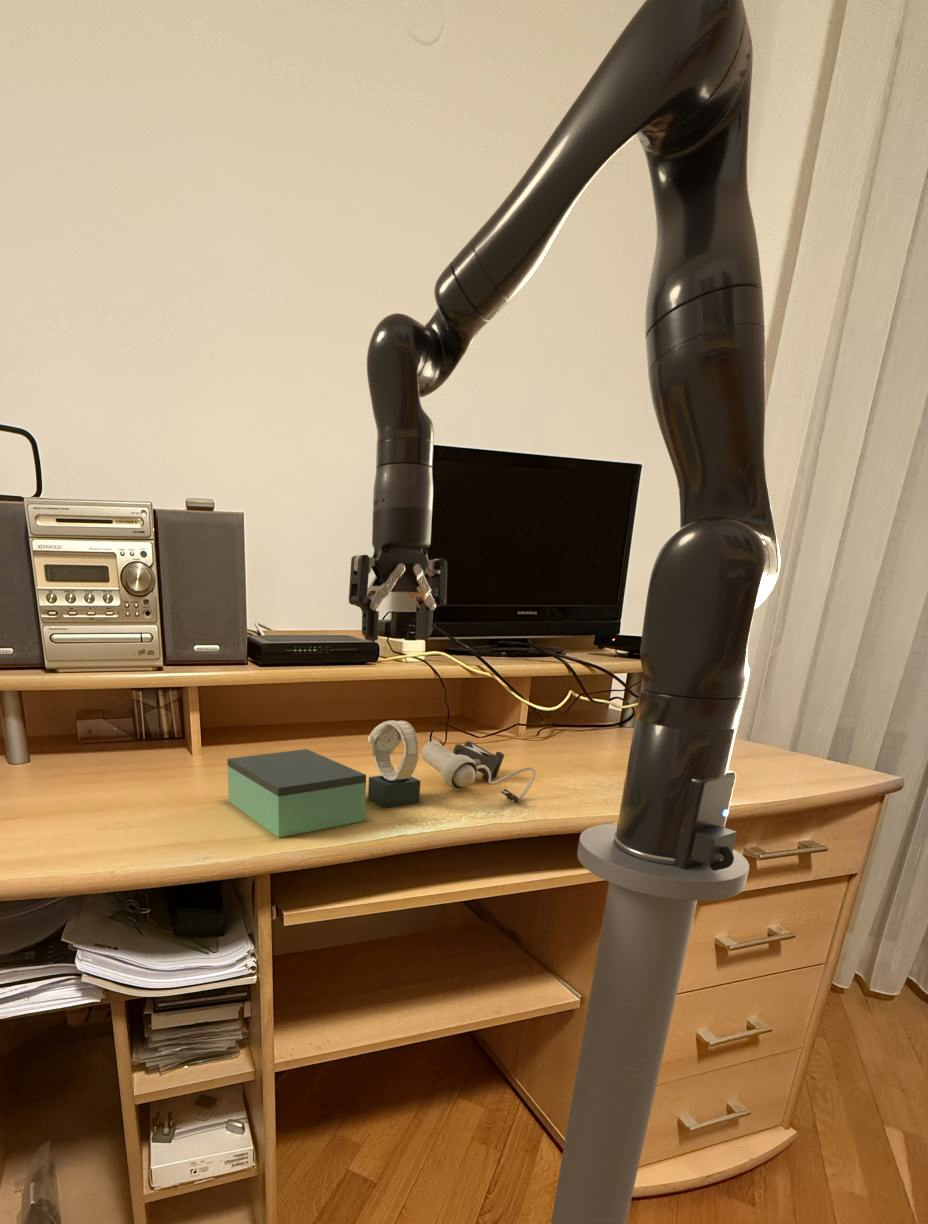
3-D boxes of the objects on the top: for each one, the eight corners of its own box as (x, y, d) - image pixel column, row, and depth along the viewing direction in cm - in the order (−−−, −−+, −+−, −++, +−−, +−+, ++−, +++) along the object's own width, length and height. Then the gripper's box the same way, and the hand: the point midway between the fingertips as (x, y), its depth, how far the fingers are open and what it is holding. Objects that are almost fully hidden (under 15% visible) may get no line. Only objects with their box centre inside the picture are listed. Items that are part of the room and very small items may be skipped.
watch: (394, 789, 91) (397, 714, 88) (426, 806, 85) (432, 725, 81) (360, 794, 89) (363, 717, 86) (391, 812, 82) (395, 728, 79)
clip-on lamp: (544, 817, 90) (465, 761, 104) (560, 777, 87) (478, 725, 101) (483, 822, 84) (408, 762, 98) (498, 780, 81) (419, 724, 95)
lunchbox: (364, 820, 79) (366, 774, 77) (278, 837, 73) (278, 788, 71) (306, 789, 91) (306, 748, 89) (228, 801, 85) (227, 758, 83)
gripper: (372, 500, 74) (369, 642, 79) (465, 509, 81) (456, 640, 86) (339, 507, 80) (337, 639, 85) (427, 515, 87) (421, 637, 92)
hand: (397, 639), depth 85 cm, fingers open, 8 cm apart
